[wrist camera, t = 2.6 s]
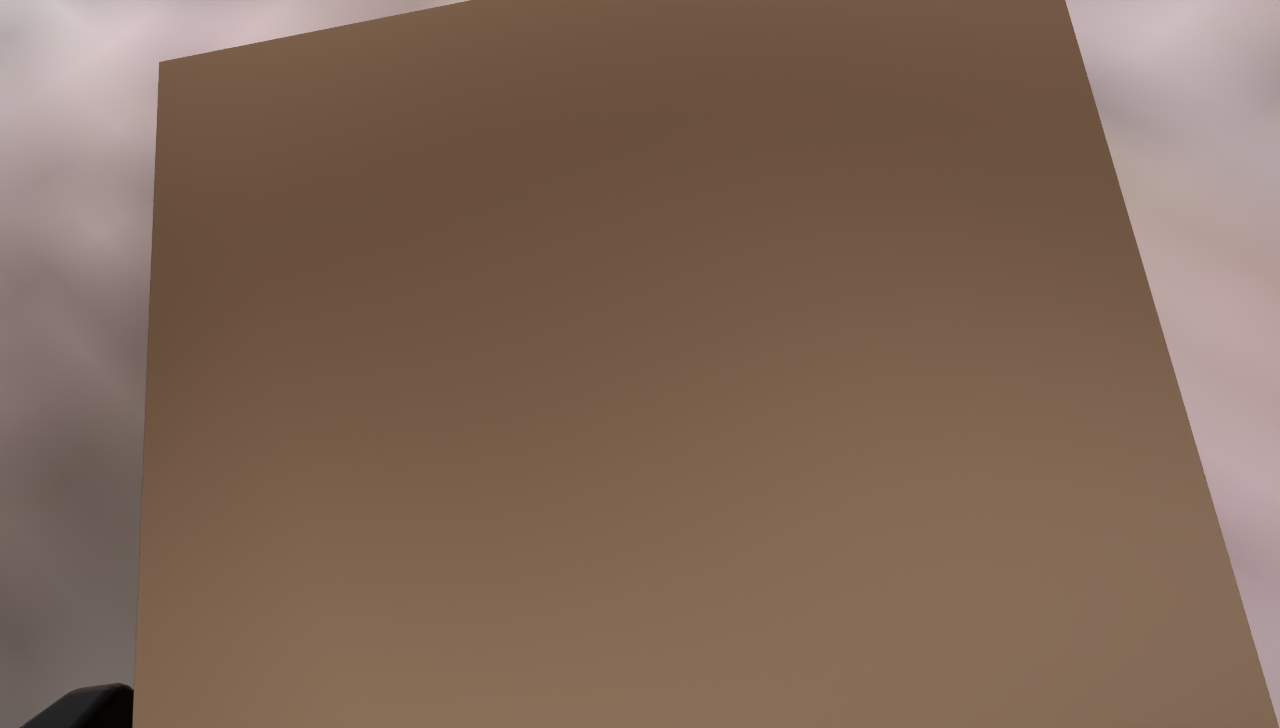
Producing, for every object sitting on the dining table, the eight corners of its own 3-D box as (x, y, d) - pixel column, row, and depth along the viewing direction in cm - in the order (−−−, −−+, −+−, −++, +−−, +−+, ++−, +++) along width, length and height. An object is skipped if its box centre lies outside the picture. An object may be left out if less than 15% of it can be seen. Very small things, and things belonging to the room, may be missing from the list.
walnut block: (961, 790, 15) (1334, 919, 4) (610, 830, 16) (121, 1037, 5) (892, 447, 17) (1033, -112, 6) (578, 493, 18) (158, 62, 6)
